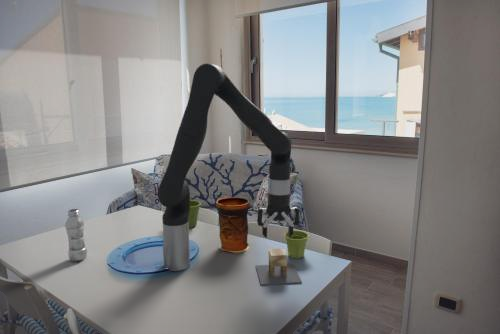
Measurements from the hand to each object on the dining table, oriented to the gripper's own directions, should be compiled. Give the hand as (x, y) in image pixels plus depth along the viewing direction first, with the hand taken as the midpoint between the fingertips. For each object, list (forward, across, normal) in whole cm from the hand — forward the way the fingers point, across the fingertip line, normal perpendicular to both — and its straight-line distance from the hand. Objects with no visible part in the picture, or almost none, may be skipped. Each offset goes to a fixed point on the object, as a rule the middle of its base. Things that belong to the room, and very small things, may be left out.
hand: (277, 236), depth 130 cm
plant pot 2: (+14, +10, +15) cm, 23 cm away
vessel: (+15, -14, +27) cm, 34 cm away
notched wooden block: (+14, 0, 0) cm, 14 cm away
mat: (+14, 0, 0) cm, 14 cm away
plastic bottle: (+16, -75, +21) cm, 79 cm away
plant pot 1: (+15, -34, +55) cm, 66 cm away
